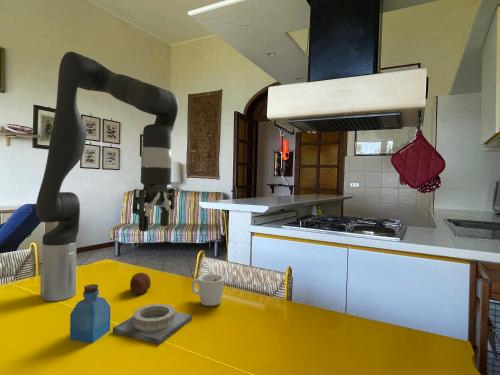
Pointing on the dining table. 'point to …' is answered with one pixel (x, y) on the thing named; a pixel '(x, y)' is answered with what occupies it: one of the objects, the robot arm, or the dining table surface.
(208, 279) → the cup
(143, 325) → the ring block
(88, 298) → the perfume bottle
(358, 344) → the dining table surface
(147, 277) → the potato
